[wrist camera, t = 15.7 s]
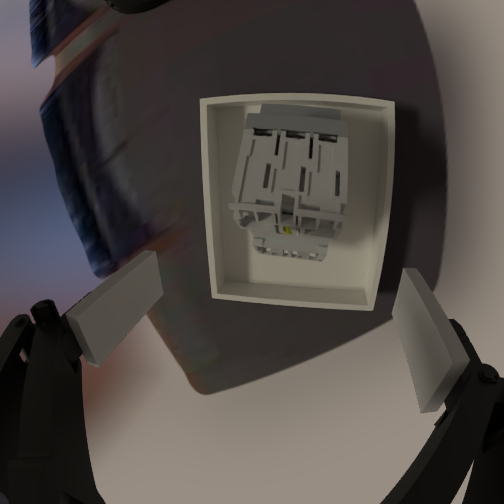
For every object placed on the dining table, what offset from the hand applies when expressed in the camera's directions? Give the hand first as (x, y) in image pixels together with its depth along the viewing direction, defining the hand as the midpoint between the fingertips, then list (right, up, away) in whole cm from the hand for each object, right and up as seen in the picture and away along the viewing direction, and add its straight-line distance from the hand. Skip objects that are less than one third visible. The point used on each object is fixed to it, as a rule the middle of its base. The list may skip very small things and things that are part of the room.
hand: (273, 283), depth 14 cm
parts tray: (+5, +8, +20) cm, 22 cm away
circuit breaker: (+4, +8, +19) cm, 21 cm away
